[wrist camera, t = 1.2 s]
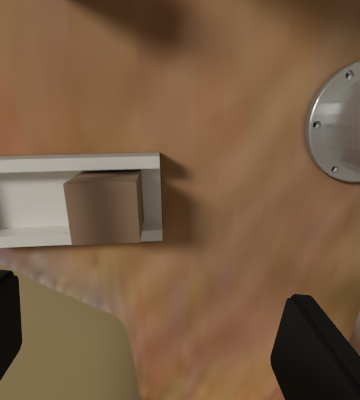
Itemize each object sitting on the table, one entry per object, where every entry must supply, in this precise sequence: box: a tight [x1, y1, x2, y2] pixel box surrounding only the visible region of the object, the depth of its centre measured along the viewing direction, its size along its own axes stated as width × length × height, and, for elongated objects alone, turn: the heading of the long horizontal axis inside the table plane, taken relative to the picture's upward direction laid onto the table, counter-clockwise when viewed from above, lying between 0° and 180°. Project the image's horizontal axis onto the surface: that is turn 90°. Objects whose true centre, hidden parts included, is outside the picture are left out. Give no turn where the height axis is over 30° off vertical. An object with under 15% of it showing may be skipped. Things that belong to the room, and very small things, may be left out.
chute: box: [0, 152, 163, 248], centre depth 28 cm, size 20×9×3 cm, turn 91°
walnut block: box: [63, 169, 144, 246], centre depth 26 cm, size 6×6×6 cm
